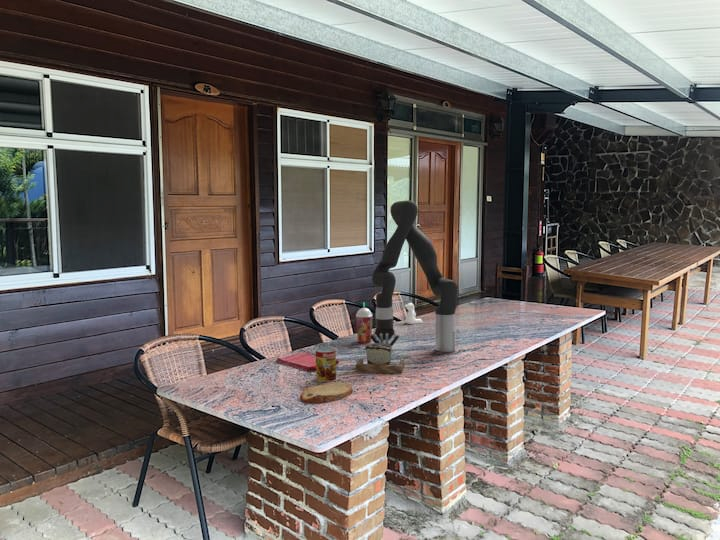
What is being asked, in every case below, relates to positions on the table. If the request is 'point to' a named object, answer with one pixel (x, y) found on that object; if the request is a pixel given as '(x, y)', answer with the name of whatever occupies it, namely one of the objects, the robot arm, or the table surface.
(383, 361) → the food container
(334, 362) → the canned food
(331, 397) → the bread slice
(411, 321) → the white creature statuette
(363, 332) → the smoothie
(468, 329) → the table surface
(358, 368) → the walnut dock
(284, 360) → the dish towel
